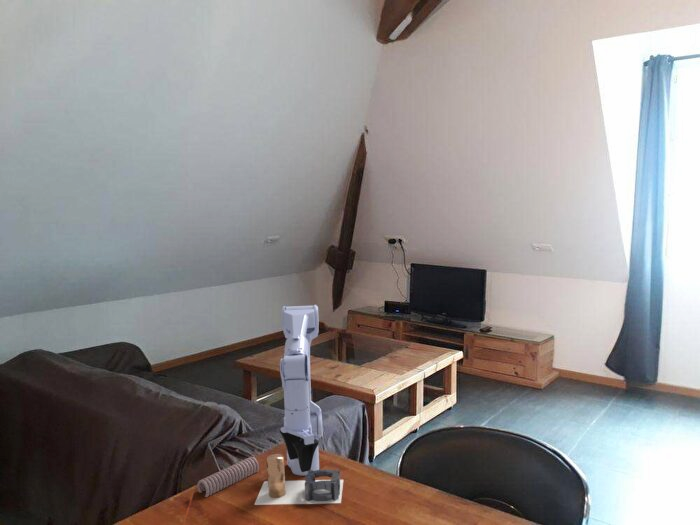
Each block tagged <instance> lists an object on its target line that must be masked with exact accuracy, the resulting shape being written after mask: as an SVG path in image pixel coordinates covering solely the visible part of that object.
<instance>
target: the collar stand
mask: <svg viewBox="0 0 700 525" xmlns="http://www.w3.org/2000/svg"><path fill="white" fill-rule="evenodd" d="M340 475H341V474H340V470H339V469H328V468H327V469H319V470H316V471H313V470H310V471H308V474H307V475H305V477H304V478H305V479H304V480H305V500H307V501H310V500H314V501H329V500H334V501H335V500H337V499H339V495H340V480H341V478H340V477H341V476H340ZM320 477H329V478H331V479H329V480H330V481H317V482H316V481H315V480H316V479H317V478H320ZM329 488H331V492H329V493H326V494H318V493H314V492H313V491H314V490H315V489H317V490H319V489H329Z"/></svg>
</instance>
